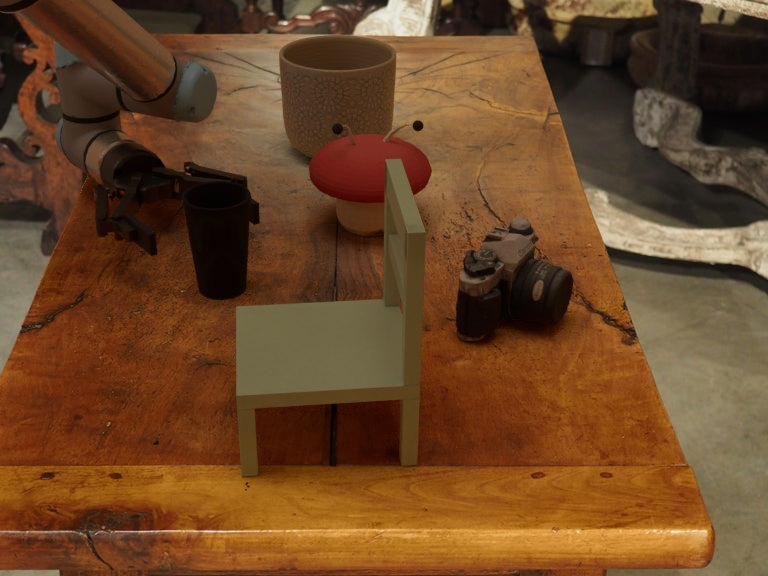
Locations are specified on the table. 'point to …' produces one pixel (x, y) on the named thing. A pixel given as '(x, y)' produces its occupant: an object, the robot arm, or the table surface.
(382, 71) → the planter
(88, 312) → the table surface
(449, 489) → the table surface
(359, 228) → the mushroom
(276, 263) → the table surface
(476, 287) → the camera
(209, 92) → the robot arm
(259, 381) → the chair
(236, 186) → the cup
